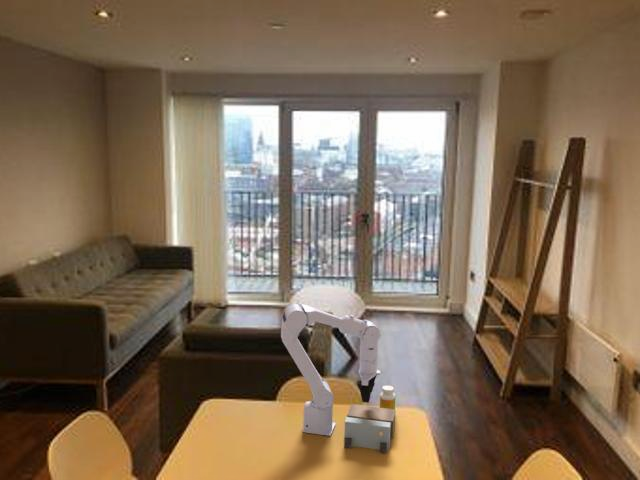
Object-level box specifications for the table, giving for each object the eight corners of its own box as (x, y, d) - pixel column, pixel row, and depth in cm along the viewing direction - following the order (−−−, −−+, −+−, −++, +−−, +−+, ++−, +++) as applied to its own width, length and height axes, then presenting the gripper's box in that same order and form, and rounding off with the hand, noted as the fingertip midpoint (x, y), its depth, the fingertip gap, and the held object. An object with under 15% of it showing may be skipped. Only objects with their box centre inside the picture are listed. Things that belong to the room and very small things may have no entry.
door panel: (343, 446, 172) (344, 423, 171) (345, 439, 176) (346, 416, 175) (388, 453, 169) (389, 429, 168) (389, 446, 173) (390, 422, 172)
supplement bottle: (394, 418, 190) (395, 392, 189) (378, 416, 191) (379, 390, 190) (395, 410, 196) (396, 385, 194) (380, 409, 197) (381, 383, 195)
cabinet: (341, 447, 172) (341, 429, 171) (350, 420, 188) (351, 404, 187) (389, 454, 168) (390, 436, 167) (394, 426, 185) (395, 409, 184)
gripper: (377, 368, 173) (376, 408, 176) (383, 351, 187) (381, 388, 189) (355, 365, 175) (354, 405, 177) (362, 349, 189) (361, 386, 191)
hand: (367, 396), depth 183 cm, fingers open, 7 cm apart
